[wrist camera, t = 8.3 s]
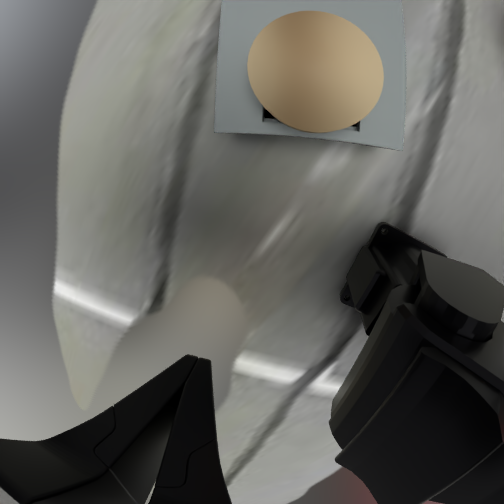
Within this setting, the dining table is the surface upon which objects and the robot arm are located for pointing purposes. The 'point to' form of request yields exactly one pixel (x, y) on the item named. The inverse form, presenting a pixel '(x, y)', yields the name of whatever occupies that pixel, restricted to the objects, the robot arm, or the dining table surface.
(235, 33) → the grey peg holder block
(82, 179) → the dining table surface
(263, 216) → the dining table surface
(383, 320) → the robot arm
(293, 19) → the knob
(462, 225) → the dining table surface
